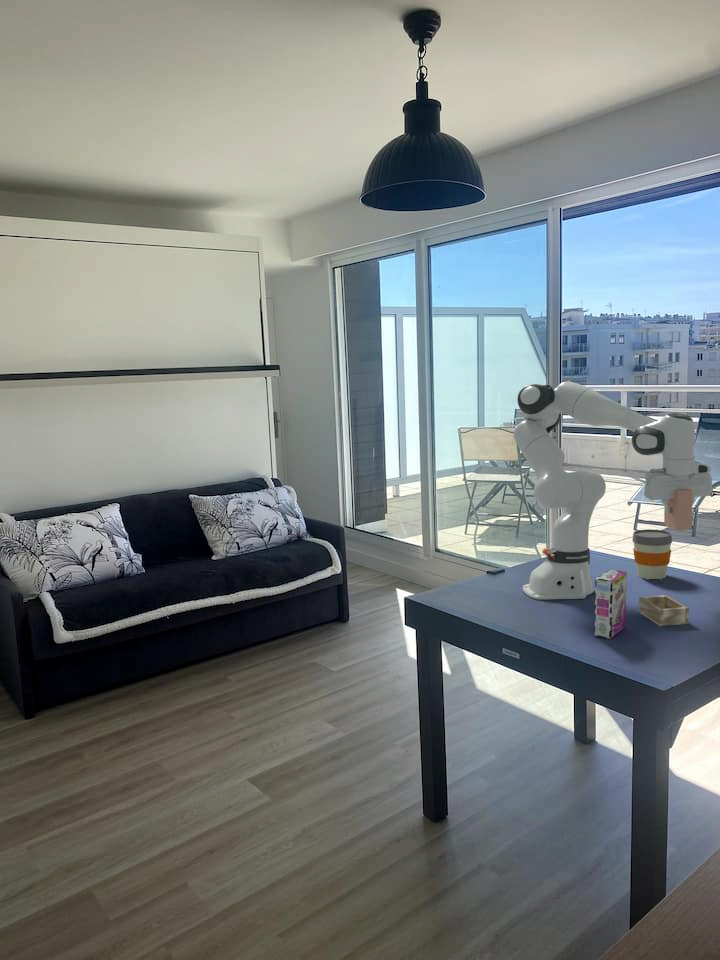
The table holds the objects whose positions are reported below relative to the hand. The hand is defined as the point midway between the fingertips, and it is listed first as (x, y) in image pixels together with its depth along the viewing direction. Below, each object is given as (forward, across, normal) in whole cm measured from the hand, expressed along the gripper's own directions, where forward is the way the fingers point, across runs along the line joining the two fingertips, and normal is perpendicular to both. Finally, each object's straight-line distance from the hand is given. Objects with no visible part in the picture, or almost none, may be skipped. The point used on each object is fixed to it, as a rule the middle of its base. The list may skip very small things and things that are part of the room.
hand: (677, 512), depth 223 cm
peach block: (+5, 0, 0) cm, 5 cm away
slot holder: (+27, -13, -16) cm, 34 cm away
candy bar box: (+27, -32, -23) cm, 48 cm away
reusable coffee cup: (+27, +4, +23) cm, 36 cm away
